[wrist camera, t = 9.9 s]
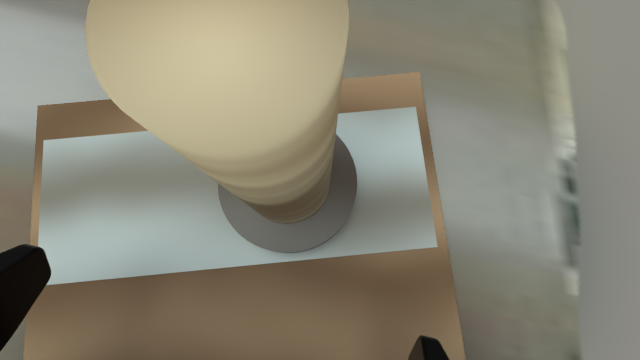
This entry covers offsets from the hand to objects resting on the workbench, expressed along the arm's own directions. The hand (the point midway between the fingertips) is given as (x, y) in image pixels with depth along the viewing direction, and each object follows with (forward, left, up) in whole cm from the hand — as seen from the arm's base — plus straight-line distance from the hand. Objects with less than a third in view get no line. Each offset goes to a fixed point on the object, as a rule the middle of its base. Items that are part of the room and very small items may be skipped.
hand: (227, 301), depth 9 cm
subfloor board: (0, +1, -9) cm, 9 cm away
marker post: (+4, -1, -7) cm, 8 cm away
